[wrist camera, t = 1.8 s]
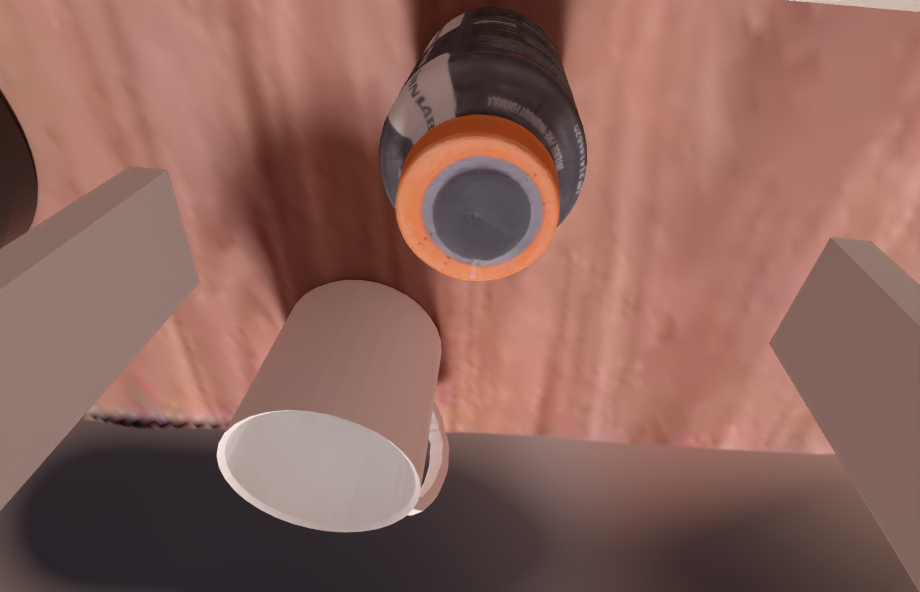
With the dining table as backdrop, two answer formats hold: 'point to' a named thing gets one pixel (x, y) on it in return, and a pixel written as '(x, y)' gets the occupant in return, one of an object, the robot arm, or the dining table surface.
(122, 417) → the dining table surface
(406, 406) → the mug
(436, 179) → the pill bottle
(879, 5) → the box
